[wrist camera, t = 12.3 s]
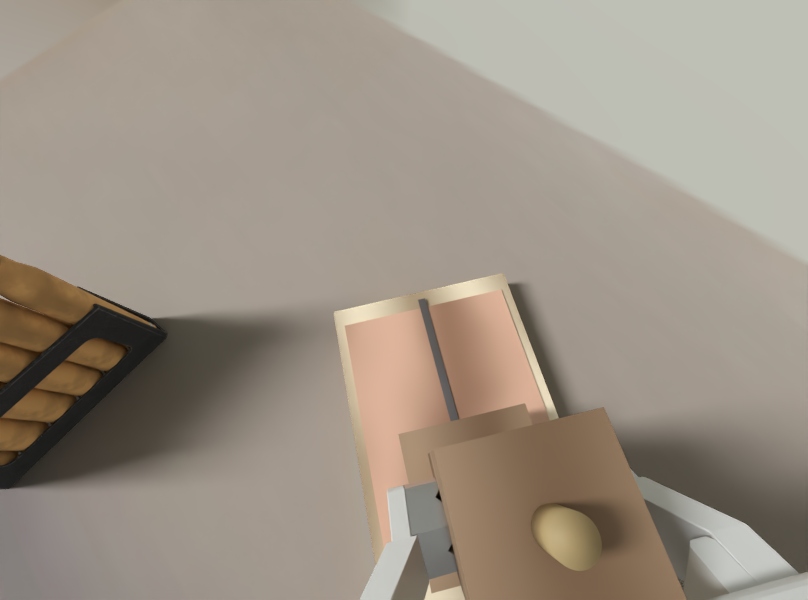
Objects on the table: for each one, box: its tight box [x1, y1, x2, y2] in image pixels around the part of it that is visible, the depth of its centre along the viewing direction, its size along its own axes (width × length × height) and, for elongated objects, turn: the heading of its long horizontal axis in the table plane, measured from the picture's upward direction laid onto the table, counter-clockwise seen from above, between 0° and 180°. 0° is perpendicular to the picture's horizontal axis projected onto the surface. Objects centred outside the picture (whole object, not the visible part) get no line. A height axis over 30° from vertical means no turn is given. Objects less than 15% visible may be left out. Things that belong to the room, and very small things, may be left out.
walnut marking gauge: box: [398, 403, 687, 600], centre depth 11 cm, size 6×6×11 cm
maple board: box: [334, 273, 559, 600], centre depth 17 cm, size 10×24×2 cm, turn 13°
